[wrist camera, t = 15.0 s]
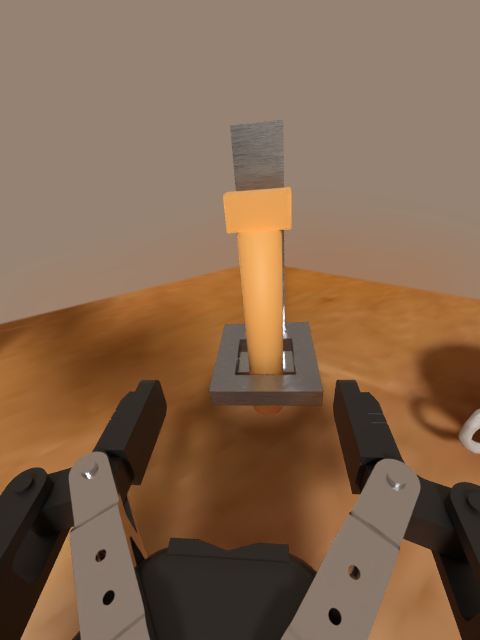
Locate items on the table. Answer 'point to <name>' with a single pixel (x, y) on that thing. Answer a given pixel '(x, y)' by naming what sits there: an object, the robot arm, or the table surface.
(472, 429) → the teacup
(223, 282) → the table surface
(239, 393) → the scaffold post with crossbars
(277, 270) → the wedge pin
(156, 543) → the table surface
